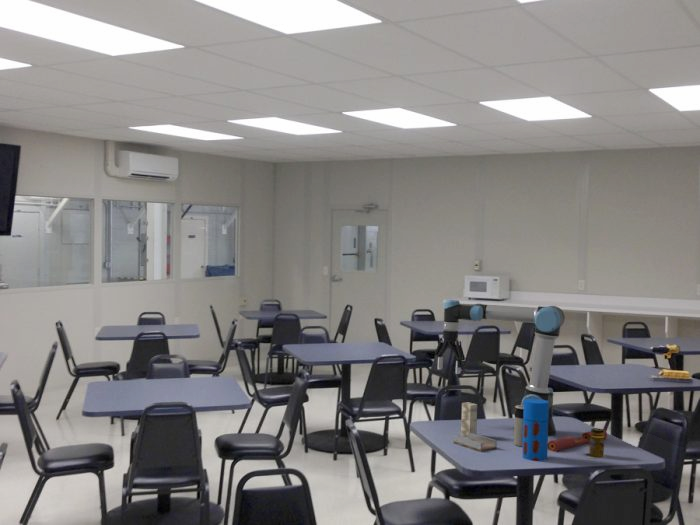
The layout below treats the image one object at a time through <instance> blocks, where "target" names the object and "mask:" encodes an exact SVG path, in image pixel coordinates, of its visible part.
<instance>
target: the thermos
mask: <svg viewBox="0 0 700 525" xmlns="http://www.w3.org/2000/svg"><path fill="white" fill-rule="evenodd" d="M548 419H549V403H548V401H546V400H541V399H525V400H524V411H523V447H522V458H523V459H526V460H529V461H535V462H537V461H538V462H543V461H546V460H548V451H549V448H548V443H549V436H548Z"/></svg>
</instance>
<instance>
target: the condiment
mask: <svg viewBox="0 0 700 525" xmlns="http://www.w3.org/2000/svg"><path fill="white" fill-rule="evenodd" d="M602 429H603V428H598V427H597V428H594V427H593V428H591V430H590V431H591V435H590V443H589V453H585V452H584V453H581V455H583V456H585V457H587V458H589V459H605V458H608V456H605V455H604V453H605V452H604V451H605V450H604V449H605V439H604V436H603V430H602Z"/></svg>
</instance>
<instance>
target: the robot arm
mask: <svg viewBox="0 0 700 525" xmlns="http://www.w3.org/2000/svg"><path fill="white" fill-rule="evenodd" d="M443 309H444V310H443V311H444V312H443V331H442V332H443V333H442V337H440V338H439V342H438V344H437V347H436V349H435V352H434V355H435V356H436V357H437V359H436V360H437V361H436V362H437V370H439V371H440V370H443V367H444V365H443V363H444V362H443V361H444V357H443V356H444V354H445V352H446V351H447V349H450V350H451V351H452V352H453V354H454V356H455V358H456V361H455V374H456V375H459V374H461V369H462V366H463V364H462V363H463V361H465V360H466V356H465V354H464V351H463V350H464V349H463V346H462V341H461V340H457V339H458V338H459V331H458V330H459V324H460V323H459V321H460V320H462V321H463V320H464V321H473V322H475V321H476V322H480V321H482V320H493V321H504V322H506V321H507V322H514V323H515V322H516V323H517V322H518V323H528V324H529V323H530V324H535V326H534V327H535V329H534V334H535V336H536V342H535V345H534V346H535V348H534V354H533V359H532V365H531V372H530V373H531V374H530V377H529V378H530V379H529V384H527V385H526V386H525V390H524V394H523V395H524V396H523V398H522V399H521V403H520V405H524V400H525V399H541V400H546V401H548V403H549V419H548V437H550V436H554V435H556V434H557V433H556V431H557V430H556V426H555V422H554V419H553V415H554V414H553V412H554V411H553V408H554V390H553V388H552V387H548V386H549V385H548V384H549V380H550V373H551V366H552V359H553V357H554V356H553V354H554V349H555V348H554V347H555V343H556V339H558V338H559V337H560V333H561V332H560V331H561V327H562V326H563V325H564V323H565V318H566V317H565V313H564V311H563V310H562V309H561V308H560V307H558V306H556V305H555V306H554V305H549V306H540V305H539V306H537V307H526V306H524V307H522V306H513V305H509V306H508V305H497V304H483V303H474V304H471V305H470V304H461V303H460V301H459V300H457V299H446V300H445V301H444V308H443Z"/></svg>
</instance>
